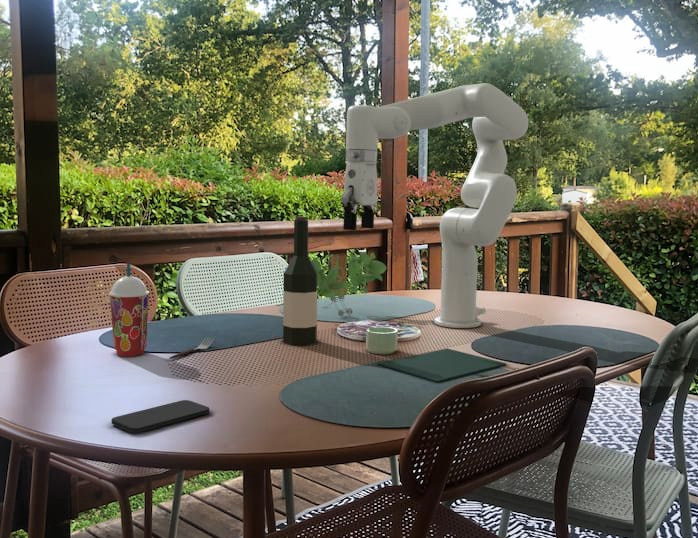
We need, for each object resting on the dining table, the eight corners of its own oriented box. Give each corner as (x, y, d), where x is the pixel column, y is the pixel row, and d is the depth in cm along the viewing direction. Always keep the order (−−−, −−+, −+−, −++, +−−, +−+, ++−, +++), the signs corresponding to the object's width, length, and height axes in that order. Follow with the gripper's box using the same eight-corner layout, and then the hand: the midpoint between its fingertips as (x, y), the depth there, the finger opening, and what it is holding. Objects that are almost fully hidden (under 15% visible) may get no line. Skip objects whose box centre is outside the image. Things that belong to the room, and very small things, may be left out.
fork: (164, 360, 161) (164, 351, 161) (205, 344, 176) (205, 336, 176) (174, 361, 160) (174, 352, 160) (215, 345, 175) (215, 337, 175)
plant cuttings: (280, 347, 203) (333, 306, 191) (252, 293, 207) (302, 250, 195) (357, 327, 231) (407, 290, 219) (331, 280, 235) (378, 241, 223)
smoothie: (157, 351, 168) (156, 262, 166) (135, 359, 161) (133, 267, 158) (126, 347, 171) (124, 260, 169) (102, 356, 163) (99, 264, 161)
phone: (212, 408, 127) (134, 429, 115) (212, 413, 127) (134, 434, 116) (186, 399, 131) (108, 418, 120) (186, 403, 132) (108, 423, 120)
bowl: (382, 346, 178) (382, 325, 177) (403, 351, 173) (404, 330, 172) (359, 350, 173) (359, 329, 172) (380, 356, 168) (381, 334, 167)
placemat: (447, 350, 175) (447, 348, 175) (506, 365, 163) (506, 363, 163) (378, 364, 161) (378, 363, 161) (437, 382, 148) (437, 380, 148)
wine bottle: (323, 340, 183) (325, 216, 179) (306, 347, 175) (308, 218, 171) (293, 336, 186) (294, 215, 182) (276, 342, 179) (276, 216, 175)
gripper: (359, 156, 172) (357, 231, 174) (389, 159, 187) (387, 228, 189) (330, 156, 175) (328, 229, 177) (362, 159, 190) (360, 226, 193)
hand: (358, 228), depth 183 cm, fingers open, 9 cm apart
